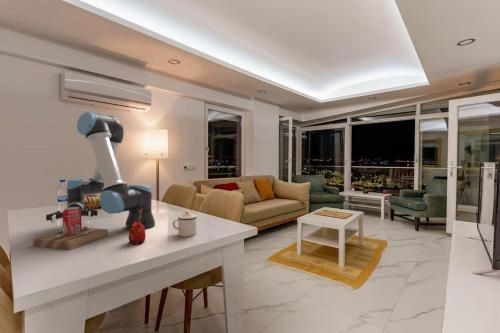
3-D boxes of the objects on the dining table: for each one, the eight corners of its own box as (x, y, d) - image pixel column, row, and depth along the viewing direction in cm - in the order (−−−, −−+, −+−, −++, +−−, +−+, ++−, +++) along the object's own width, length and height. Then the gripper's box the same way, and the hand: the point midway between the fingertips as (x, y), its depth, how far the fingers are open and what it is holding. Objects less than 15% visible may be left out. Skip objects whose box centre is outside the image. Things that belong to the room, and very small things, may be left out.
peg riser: (107, 235, 125) (107, 226, 125) (70, 249, 105) (70, 238, 105) (74, 232, 129) (74, 223, 129) (33, 245, 110) (32, 235, 110)
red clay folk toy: (125, 242, 114) (125, 209, 114) (139, 238, 120) (139, 207, 119) (134, 246, 110) (134, 211, 109) (149, 241, 116) (149, 209, 115)
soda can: (69, 231, 121) (68, 206, 120) (84, 231, 121) (84, 206, 121) (59, 236, 113) (58, 209, 113) (75, 236, 114) (75, 209, 114)
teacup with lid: (198, 231, 131) (198, 209, 131) (193, 237, 122) (193, 213, 122) (176, 231, 132) (176, 209, 132) (169, 236, 123) (169, 212, 123)
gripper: (102, 214, 140) (103, 223, 122) (44, 220, 127) (36, 230, 109) (101, 201, 140) (103, 207, 122) (44, 205, 127) (36, 213, 109)
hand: (71, 218), depth 115 cm, fingers open, 13 cm apart
